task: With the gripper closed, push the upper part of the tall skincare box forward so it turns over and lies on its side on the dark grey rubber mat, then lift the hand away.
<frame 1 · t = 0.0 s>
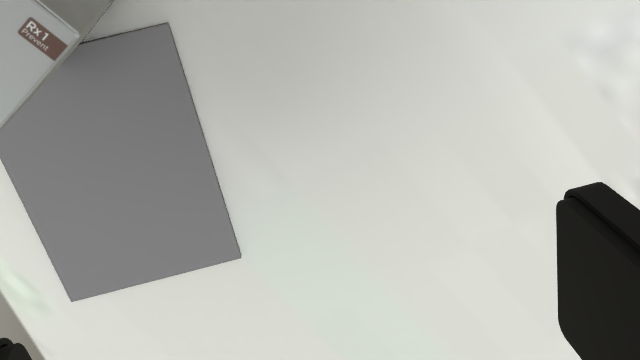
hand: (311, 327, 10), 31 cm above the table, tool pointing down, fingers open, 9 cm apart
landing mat: (115, 173, 42), on the table
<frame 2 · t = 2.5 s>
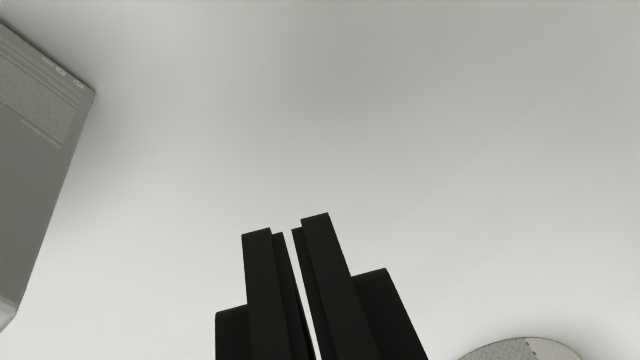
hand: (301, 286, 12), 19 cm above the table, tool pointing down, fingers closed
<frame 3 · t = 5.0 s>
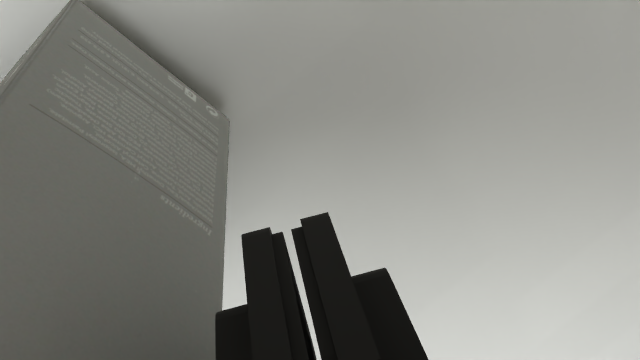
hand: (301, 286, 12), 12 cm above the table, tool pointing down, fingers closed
skincare box: (96, 146, 21), point 1 cm above the table, touching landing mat
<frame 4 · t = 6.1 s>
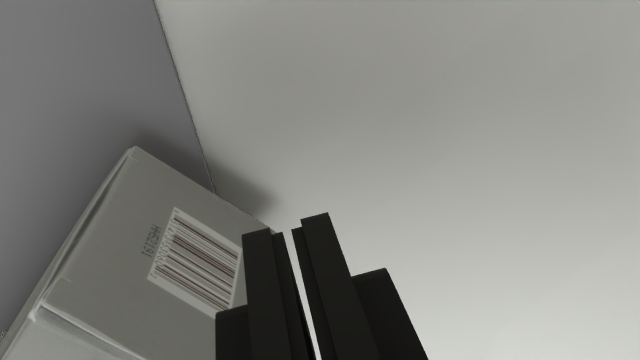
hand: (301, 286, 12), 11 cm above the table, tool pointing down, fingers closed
skincare box: (211, 256, 17), point 6 cm above the table
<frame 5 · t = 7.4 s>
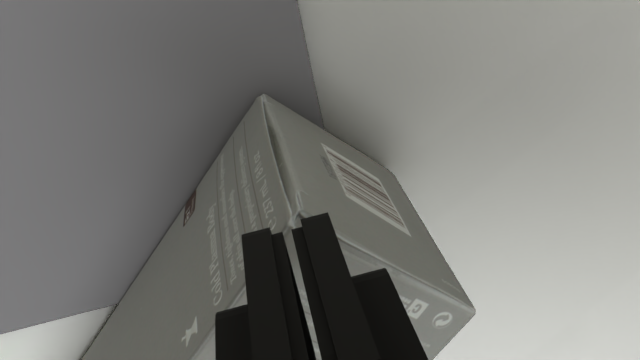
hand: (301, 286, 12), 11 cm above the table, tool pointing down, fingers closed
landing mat: (63, 149, 21), on the table
skincare box: (372, 181, 18), point 4 cm above the table, touching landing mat
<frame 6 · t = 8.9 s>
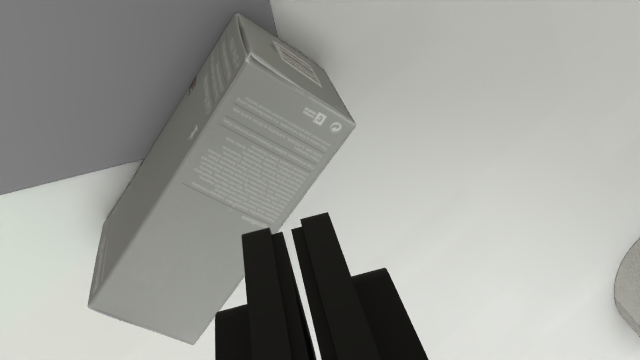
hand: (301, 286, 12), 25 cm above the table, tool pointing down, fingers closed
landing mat: (112, 50, 33), on the table
skincare box: (302, 60, 31), point 4 cm above the table, touching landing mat
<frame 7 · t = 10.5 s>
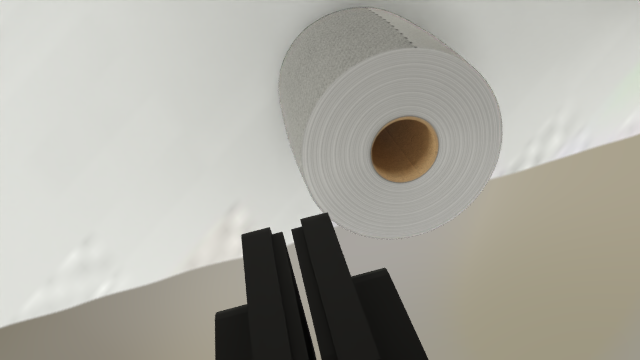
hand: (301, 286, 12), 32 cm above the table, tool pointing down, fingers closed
toilet paper roll: (358, 87, 44), on the table
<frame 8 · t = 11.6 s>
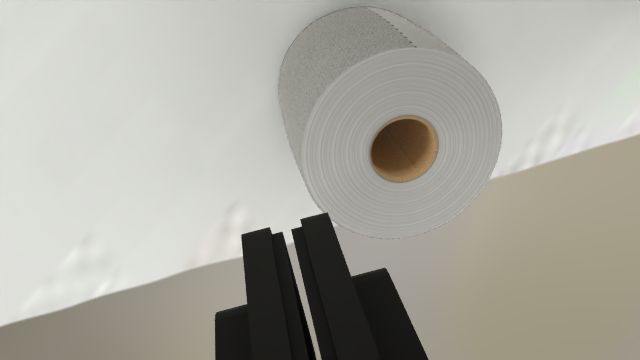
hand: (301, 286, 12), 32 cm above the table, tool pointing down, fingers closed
toilet paper roll: (357, 87, 44), on the table
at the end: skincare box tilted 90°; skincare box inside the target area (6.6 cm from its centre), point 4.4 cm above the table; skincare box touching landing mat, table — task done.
